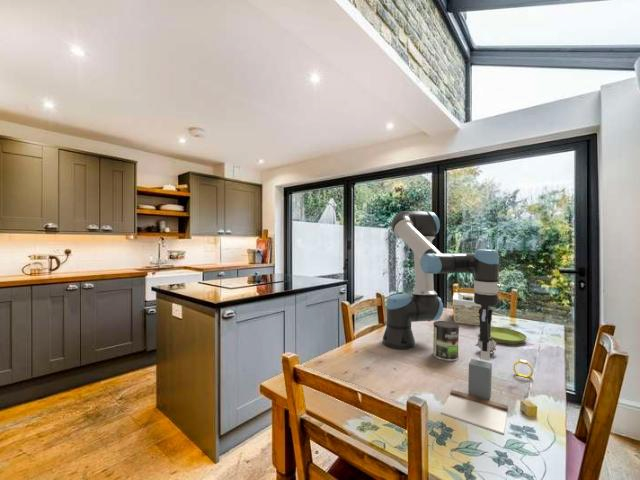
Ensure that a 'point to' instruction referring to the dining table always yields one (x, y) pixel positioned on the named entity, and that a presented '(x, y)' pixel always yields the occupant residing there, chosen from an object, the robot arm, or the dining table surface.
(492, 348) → the game die
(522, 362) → the watch
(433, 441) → the dining table surface
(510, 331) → the saucer
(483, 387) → the tall block
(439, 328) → the coffee can
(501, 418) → the mat
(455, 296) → the storage basket
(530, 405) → the alphabet block
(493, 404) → the bar
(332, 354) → the dining table surface
